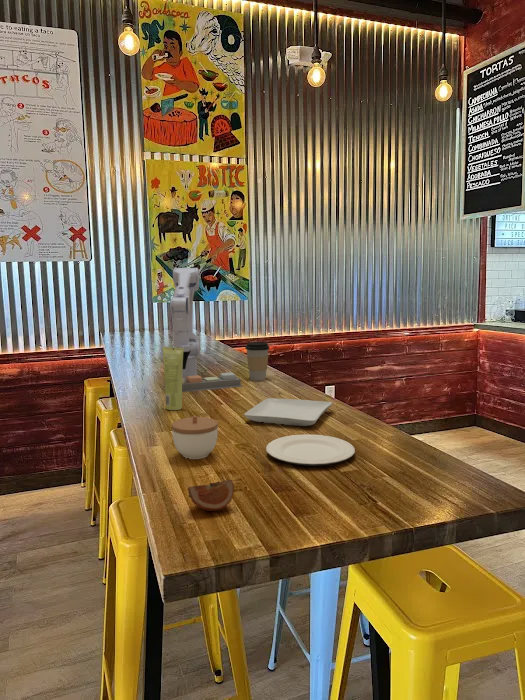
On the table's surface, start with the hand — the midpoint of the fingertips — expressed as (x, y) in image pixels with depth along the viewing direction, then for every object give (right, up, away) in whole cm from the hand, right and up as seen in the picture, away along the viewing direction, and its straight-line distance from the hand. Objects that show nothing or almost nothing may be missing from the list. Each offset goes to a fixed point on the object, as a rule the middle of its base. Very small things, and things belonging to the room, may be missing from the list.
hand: (181, 369), depth 194 cm
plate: (+40, -18, -66) cm, 79 cm away
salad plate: (+37, -14, -34) cm, 52 cm away
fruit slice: (+19, -22, -95) cm, 99 cm away
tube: (+1, -12, -24) cm, 27 cm away
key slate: (+16, -4, +7) cm, 18 cm away
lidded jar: (+13, -18, -66) cm, 70 cm away
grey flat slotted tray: (+7, -7, +4) cm, 11 cm away
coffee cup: (+27, -6, +16) cm, 32 cm away
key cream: (-2, -5, 0) cm, 6 cm away
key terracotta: (+4, -5, +3) cm, 7 cm away
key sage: (+10, -6, +5) cm, 13 cm away
